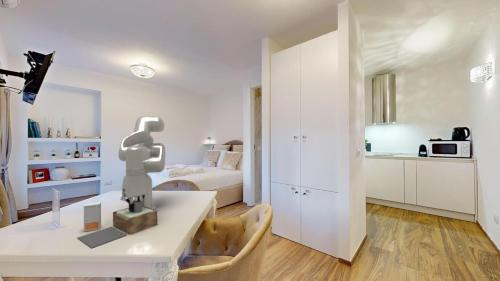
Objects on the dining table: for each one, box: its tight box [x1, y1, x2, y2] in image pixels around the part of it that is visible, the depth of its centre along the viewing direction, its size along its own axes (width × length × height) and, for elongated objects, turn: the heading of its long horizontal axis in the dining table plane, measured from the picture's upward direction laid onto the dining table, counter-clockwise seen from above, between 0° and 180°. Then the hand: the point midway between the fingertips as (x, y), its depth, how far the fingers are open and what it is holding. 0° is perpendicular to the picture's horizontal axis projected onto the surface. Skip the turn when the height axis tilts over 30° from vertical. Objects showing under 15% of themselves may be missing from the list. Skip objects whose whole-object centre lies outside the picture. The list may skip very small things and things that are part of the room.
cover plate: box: [116, 199, 155, 219], centre depth 101 cm, size 11×13×6 cm
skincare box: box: [83, 201, 102, 233], centre depth 97 cm, size 6×4×12 cm
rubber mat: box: [76, 226, 128, 249], centre depth 89 cm, size 15×13×1 cm
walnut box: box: [112, 206, 158, 236], centre depth 101 cm, size 13×16×7 cm
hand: (135, 210), depth 101 cm, fingers closed on cover plate, 2 cm apart
